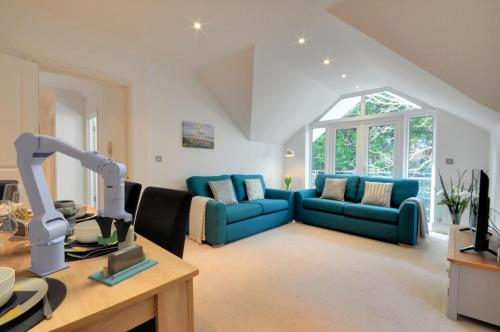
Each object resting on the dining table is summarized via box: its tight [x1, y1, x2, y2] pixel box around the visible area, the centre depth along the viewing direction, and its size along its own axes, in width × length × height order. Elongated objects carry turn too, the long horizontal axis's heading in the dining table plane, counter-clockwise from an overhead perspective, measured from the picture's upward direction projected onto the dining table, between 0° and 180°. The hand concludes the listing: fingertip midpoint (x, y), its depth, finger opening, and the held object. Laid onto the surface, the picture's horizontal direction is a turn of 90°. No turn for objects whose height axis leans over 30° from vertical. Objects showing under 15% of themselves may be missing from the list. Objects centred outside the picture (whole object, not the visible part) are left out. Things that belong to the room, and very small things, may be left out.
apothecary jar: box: [46, 199, 80, 243], centre depth 100 cm, size 12×12×18 cm
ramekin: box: [96, 229, 118, 245], centre depth 102 cm, size 9×9×4 cm
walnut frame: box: [107, 243, 144, 275], centre depth 78 cm, size 4×10×6 cm, turn 154°
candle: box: [117, 224, 135, 251], centre depth 96 cm, size 6×6×10 cm
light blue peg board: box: [88, 250, 159, 287], centre depth 78 cm, size 11×17×4 cm, turn 154°
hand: (113, 239), depth 79 cm, fingers open, 7 cm apart
